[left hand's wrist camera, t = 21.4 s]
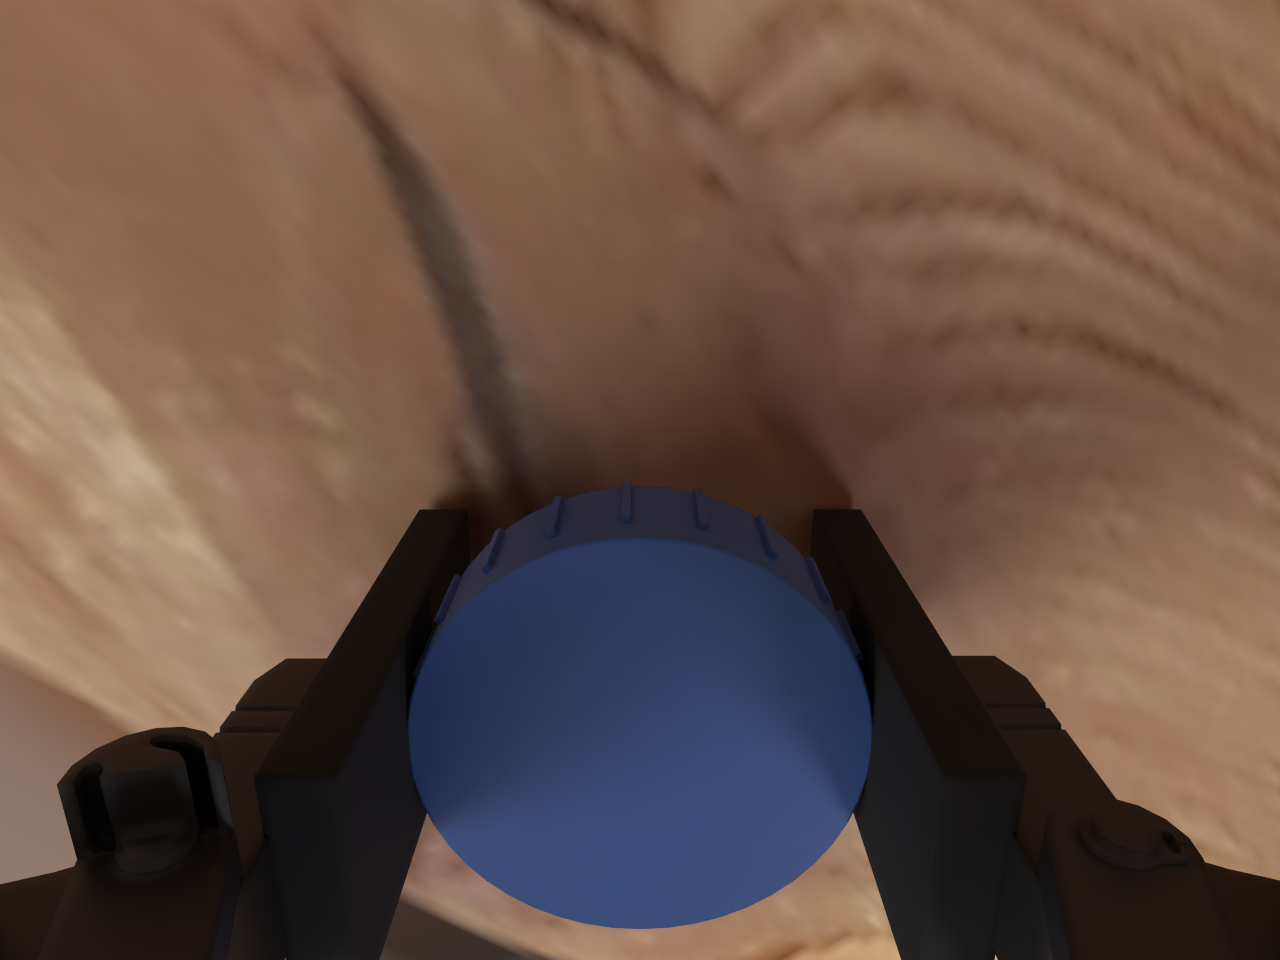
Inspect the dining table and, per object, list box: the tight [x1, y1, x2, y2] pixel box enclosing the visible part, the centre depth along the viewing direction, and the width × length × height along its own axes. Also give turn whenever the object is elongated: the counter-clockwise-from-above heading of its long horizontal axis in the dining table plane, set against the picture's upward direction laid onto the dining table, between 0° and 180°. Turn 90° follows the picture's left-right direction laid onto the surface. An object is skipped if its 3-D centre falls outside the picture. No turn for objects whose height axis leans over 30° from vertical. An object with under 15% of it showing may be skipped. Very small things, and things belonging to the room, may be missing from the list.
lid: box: [407, 482, 873, 929], centre depth 11 cm, size 6×6×2 cm
